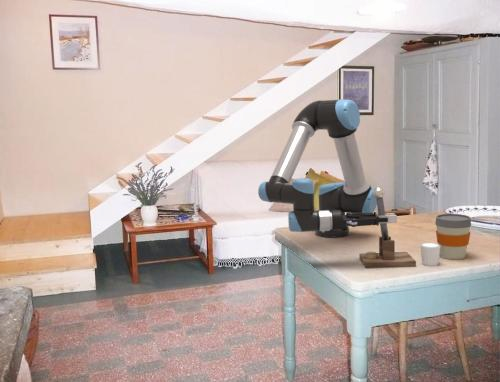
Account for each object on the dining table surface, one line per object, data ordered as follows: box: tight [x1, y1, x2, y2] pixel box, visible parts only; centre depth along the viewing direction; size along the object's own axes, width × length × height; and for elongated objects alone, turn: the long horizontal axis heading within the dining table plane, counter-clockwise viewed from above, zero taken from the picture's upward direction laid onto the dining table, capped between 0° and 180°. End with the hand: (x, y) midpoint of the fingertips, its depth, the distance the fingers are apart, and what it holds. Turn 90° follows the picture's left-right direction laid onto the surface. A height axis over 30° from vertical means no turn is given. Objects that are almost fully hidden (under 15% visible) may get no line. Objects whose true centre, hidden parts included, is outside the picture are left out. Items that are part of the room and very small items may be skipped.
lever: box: [373, 186, 390, 246], centre depth 192 cm, size 4×4×24 cm
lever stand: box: [358, 235, 417, 269], centre depth 194 cm, size 12×18×9 cm, turn 89°
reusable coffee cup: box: [435, 213, 472, 260], centre depth 198 cm, size 12×12×15 cm
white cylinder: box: [420, 242, 440, 267], centre depth 191 cm, size 7×7×7 cm
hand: (395, 217), depth 192 cm, fingers closed on lever, 2 cm apart
